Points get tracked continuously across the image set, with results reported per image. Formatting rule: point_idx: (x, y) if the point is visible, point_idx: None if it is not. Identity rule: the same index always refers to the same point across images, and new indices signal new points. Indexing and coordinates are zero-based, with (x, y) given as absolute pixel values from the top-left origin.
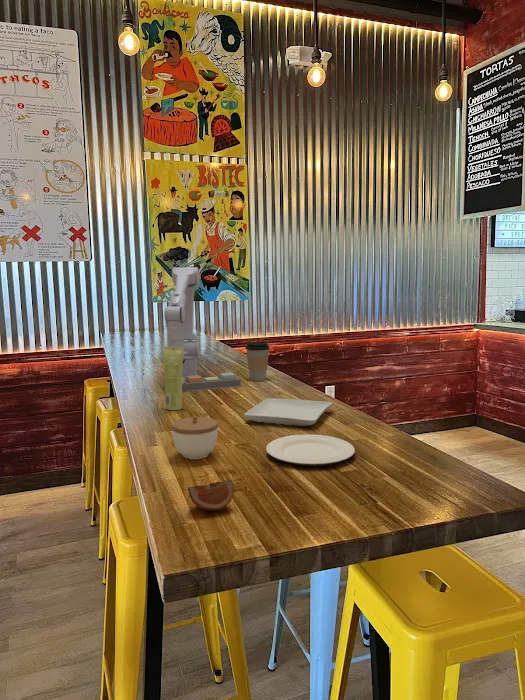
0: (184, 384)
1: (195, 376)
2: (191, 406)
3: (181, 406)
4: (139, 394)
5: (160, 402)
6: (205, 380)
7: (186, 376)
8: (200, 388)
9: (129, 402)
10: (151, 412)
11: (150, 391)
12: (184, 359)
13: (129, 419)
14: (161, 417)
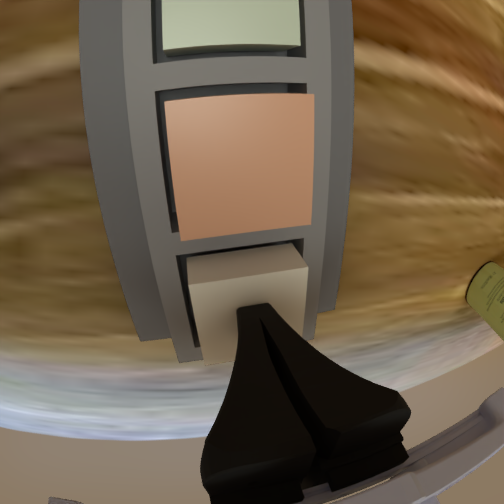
0: (322, 249)
1: (233, 148)
2: (494, 229)
3: (499, 266)
4: None
5: (402, 325)
6: (244, 46)
7: (188, 239)
8: None
9: None
10: (465, 332)
11: (187, 374)
12: (406, 411)
13: (468, 359)
14: None
